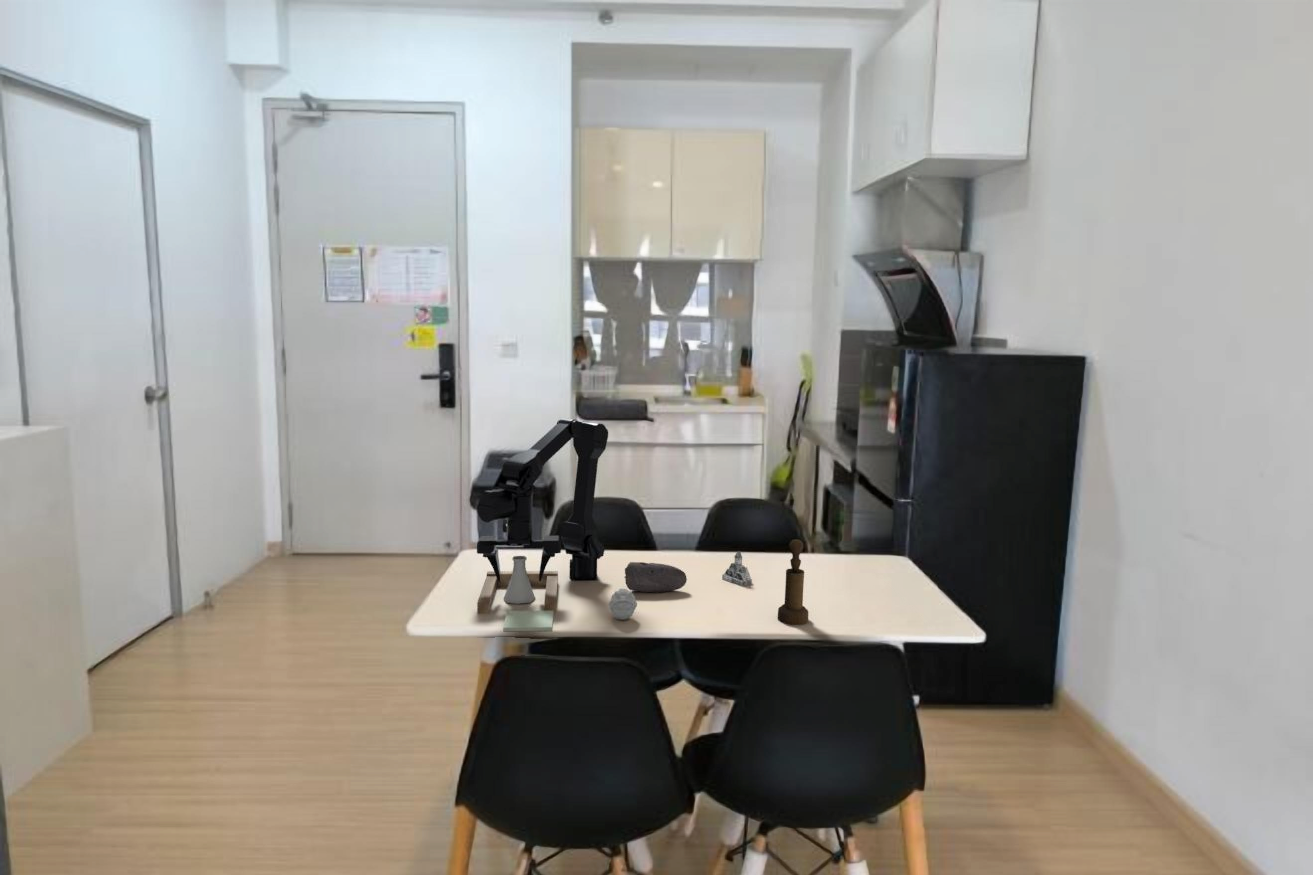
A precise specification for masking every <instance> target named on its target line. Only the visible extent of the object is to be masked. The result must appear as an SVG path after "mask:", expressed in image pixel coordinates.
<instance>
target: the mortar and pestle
mask: <svg viewBox="0 0 1313 875" xmlns="http://www.w3.org/2000/svg"><path fill="white" fill-rule="evenodd" d="M788 547H789V548H788V549H789V550H790V553H791V556H792V558H791V559H790V560H789V561H790V566H791V568H787V569H786V570H785V586H784V587H785V589H784V604H782V605H781V606H780V607H778V609H777V620H778V621H779V622H781V623H783V624H786V625H793V626H795V625H796V626H798V625H799V626H800V625H805V624H807V623H808V622H809V610H808V608H806V607H805V606H804V604H803V601H804V585H805V584H804V583H805V582H804V580H805V570H804V569H800V567H801V564H802V559H800V556H801V553H802V551H803V549H804V543H803V542H802V541H801V540H800V539H792V540H791V541H789V545H788Z"/></svg>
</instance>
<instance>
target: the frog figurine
mask: <svg viewBox="0 0 1313 875" xmlns="http://www.w3.org/2000/svg"><path fill="white" fill-rule="evenodd" d="M608 606H609V608H610V610H611V613H612V615H613V616H614V618H616V619H617V620H621V621H622V620H623V621H624V620H627V619H630V618H631V617H632V616H633V614H634V613H635V610H636V608H637V606H638V602H637V601H636V598H635V595H634V593H632V590H628V589H627V588H620V589H618V590H617V591H614V593H613V594H612V595H611V598H610V600H609V602H608Z"/></svg>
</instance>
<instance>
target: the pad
mask: <svg viewBox="0 0 1313 875" xmlns="http://www.w3.org/2000/svg"><path fill="white" fill-rule="evenodd" d="M553 621H554V613H553V611H544V610H508V611H506V615H505V619H504V623H503V626H502V631H503V632H510V631H511V632H518V631H519V632H532V631H533V632H536V631H542V632H543V631H544V632H545V631H553V623H554V622H553Z"/></svg>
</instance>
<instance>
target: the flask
mask: <svg viewBox="0 0 1313 875" xmlns="http://www.w3.org/2000/svg"><path fill="white" fill-rule="evenodd" d="M512 561H513V568H512V571H513V573H512V576H511V579H510V582H509V585H508V586H507V587H506V590H505V594H504V597H503V600H504V601H505V603H507V604H508V603H509V604H516V605H517V604H518V605H520V604H521V605H522V604H527V603H528V604H529V603H532V602H533V601H535V599H536V596H535V594H534V591H533V589H532V586H531V585H530V582H529V579H528V576H527V573H526V571H527V567H526V561H527V557H526V556H525V555H515V556H513V557H512Z"/></svg>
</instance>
